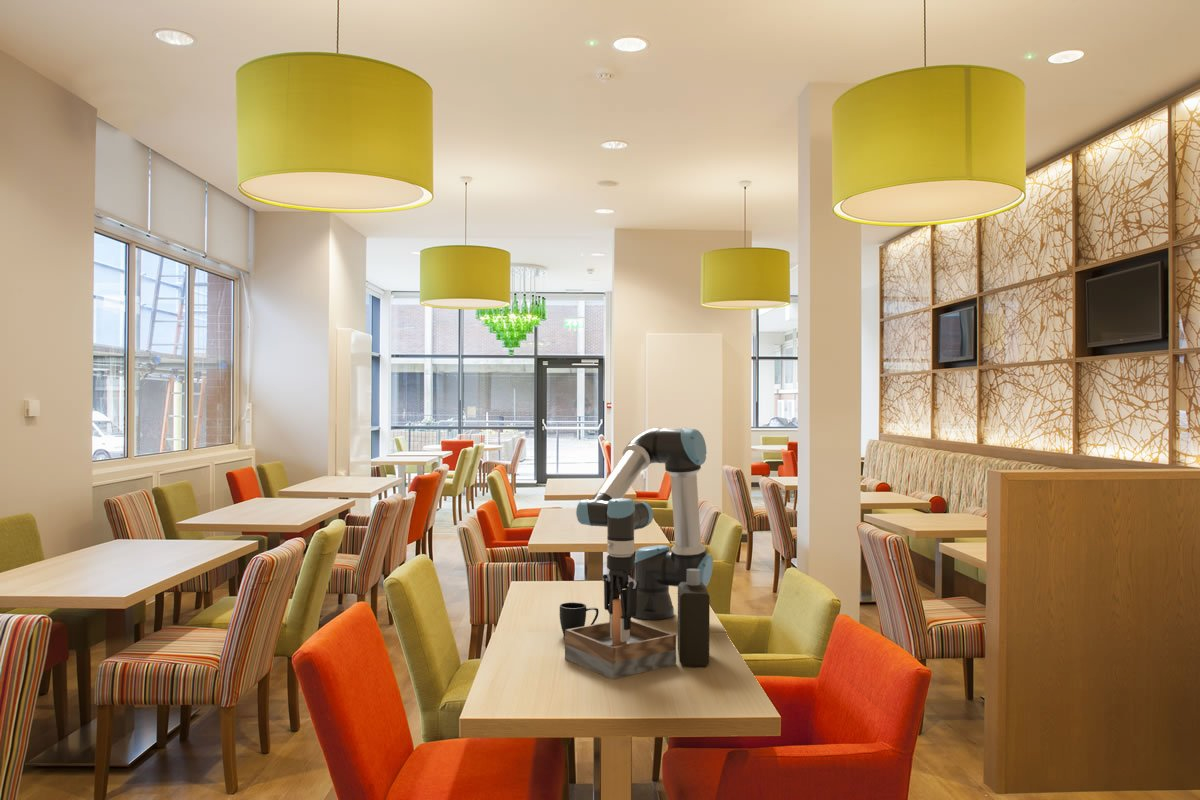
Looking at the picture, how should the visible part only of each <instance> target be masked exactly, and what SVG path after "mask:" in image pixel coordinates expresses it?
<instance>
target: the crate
mask: <svg viewBox="0 0 1200 800" xmlns="http://www.w3.org/2000/svg"><path fill="white" fill-rule="evenodd" d="M564 659H566V660H568V661H570V662H572V663H574V664H577V665H579V666H581V667H583V668H586V669H588V670H590V671H593V672H595V673H597V674H599V675H602V676H605V678H609V679H611V680H616V679H619V678H625V677H627V676H632V675H637V674H641V673H644V672H649V671H653V670H657V669H660V668H665V667H669V666H674V665H676V664H677V634H674V633H672V632H668V631H665V630H663V629H660V628H657V627H653V626H650V625H648V624H645V623H641V622H638V621H635V620H632V619H631V628H630V641H627V644H624V645H619V646H614V647H613V646H612V638H610V620H609V621H605V622H598V623H594V624H593V625H591V624H589V625H585V626H582V627H577V628H572V629H566V630H565V637H564Z"/></svg>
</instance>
